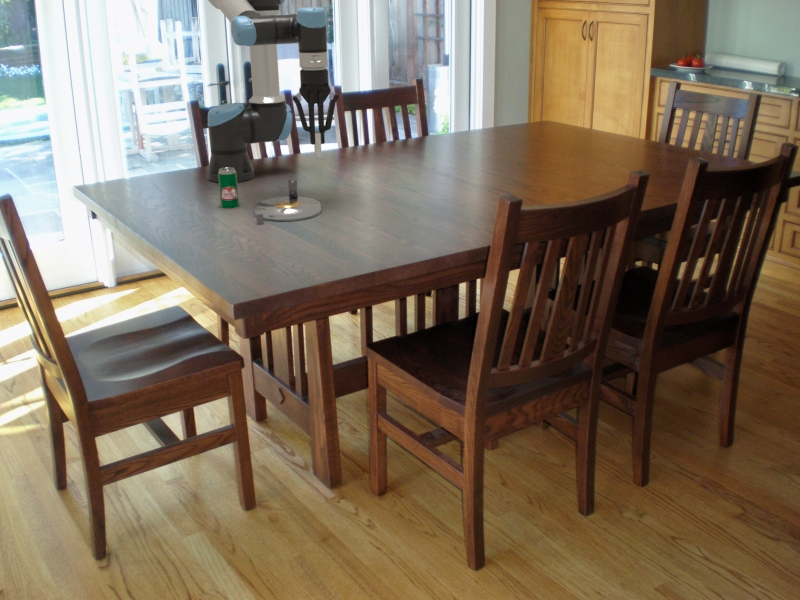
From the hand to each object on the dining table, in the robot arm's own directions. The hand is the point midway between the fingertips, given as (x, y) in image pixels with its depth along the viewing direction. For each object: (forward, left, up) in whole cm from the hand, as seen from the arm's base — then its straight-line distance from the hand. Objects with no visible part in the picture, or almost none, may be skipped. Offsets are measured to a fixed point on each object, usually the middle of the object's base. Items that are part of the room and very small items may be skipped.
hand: (318, 155), depth 230 cm
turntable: (+7, -10, -14) cm, 18 cm away
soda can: (-4, -25, -15) cm, 30 cm away
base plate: (+7, -10, -15) cm, 19 cm away
